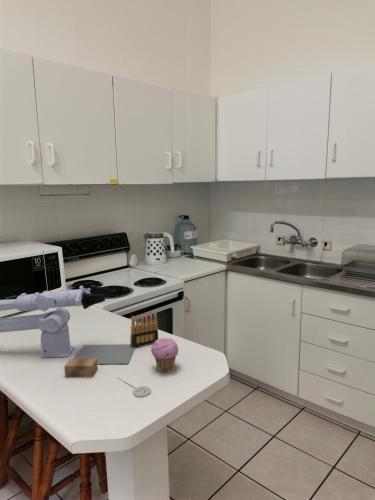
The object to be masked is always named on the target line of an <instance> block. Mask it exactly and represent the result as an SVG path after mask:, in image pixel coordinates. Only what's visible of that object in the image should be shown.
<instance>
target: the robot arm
mask: <svg viewBox="0 0 375 500" xmlns="http://www.w3.org/2000/svg"><path fill="white" fill-rule="evenodd" d="M111 294H112V291H111V288H108V287H104V286H103V287H101V286H98V285H95V284H90V285H89V288H85V287H84V286H83V285H80V286H79V289H67V290H60V291H59V290H58V291H51V290H44V291H43V292H41V293H40V292H38V291H37V292H35V293H30V294H29V293H28V294H27V293H26V292H24V293H21V294H20V295H18V296H17V297H16V298H13V299H0V312H1V311H8V310H15V309H16V310H17V311H19V312H26V311H27V312H28V311H37V310H39V311H43V312H44V313H40V314H39V313H38V314H30V315H21V316H19V315H18V316H8V317H1V316H0V333H10V332H21V331H28V330H29V331H31V330H40V331H41V334H40V346H41V358H68V356H69V355H70V354H71V353H72V351H73V350H74V349H75V346H74V345H71V341H70V339H71V338H70V329H69V325H68V322H69V321H70V320H71V314H70V312H69V310H68V309H66V307H67V308H68V307H82V308H83V309H84V310H87V309H88V308H90V307H91V306H94V305H97V304H100V303H103V302H105V301H106V296H110V295H111ZM55 308H56V309H55ZM49 309H54V310H50V311H48V310H49ZM46 311H47V312H46Z"/></svg>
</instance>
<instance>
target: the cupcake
mask: <svg viewBox="0 0 375 500" xmlns="http://www.w3.org/2000/svg"><path fill="white" fill-rule="evenodd" d="M150 350H151V351H150V352H151V354H152V356H153V357H154V359H155V364H156V366H157V367H158V369H159V371H160V372H167V371H170V370H172V369H173V368H174V366H175V363H176V362H175V361H176V357H177V356H178V353H179V347H178V344H177V342H176V341H175V340H174V339H172V338H165V337H164V338H162V337H161V338H158V340H156V341H155V342H154V343H152V344H151V348H150Z"/></svg>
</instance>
